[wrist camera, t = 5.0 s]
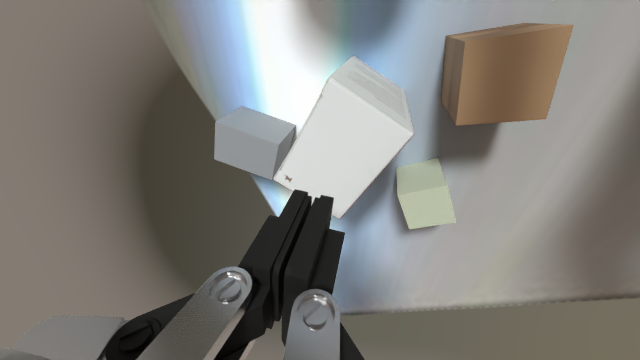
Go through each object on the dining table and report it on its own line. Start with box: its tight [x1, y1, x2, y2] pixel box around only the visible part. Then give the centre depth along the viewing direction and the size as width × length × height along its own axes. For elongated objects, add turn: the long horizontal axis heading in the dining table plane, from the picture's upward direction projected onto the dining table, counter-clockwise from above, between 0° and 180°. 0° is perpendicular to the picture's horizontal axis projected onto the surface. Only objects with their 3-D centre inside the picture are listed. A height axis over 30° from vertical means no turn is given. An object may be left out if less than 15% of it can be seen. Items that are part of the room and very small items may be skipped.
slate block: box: [214, 106, 296, 180], centre depth 25 cm, size 6×4×5 cm, turn 74°
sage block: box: [396, 158, 456, 229], centre depth 24 cm, size 4×4×5 cm
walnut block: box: [441, 23, 574, 126], centre depth 17 cm, size 5×5×6 cm
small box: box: [273, 56, 414, 219], centre depth 20 cm, size 8×6×10 cm
